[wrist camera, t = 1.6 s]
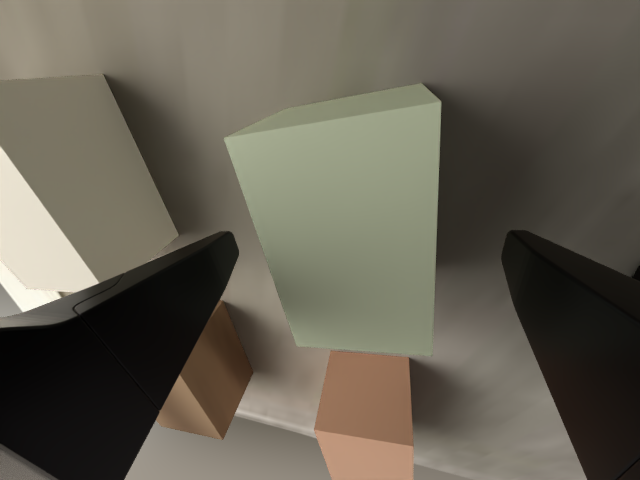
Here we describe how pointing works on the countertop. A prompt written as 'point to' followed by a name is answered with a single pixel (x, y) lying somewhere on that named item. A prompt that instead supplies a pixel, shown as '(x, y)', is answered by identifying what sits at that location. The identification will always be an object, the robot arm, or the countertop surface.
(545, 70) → the countertop surface
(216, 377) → the walnut brick
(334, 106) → the sage brick
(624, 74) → the countertop surface
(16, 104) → the off-white brick
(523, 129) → the countertop surface
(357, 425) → the terracotta brick
